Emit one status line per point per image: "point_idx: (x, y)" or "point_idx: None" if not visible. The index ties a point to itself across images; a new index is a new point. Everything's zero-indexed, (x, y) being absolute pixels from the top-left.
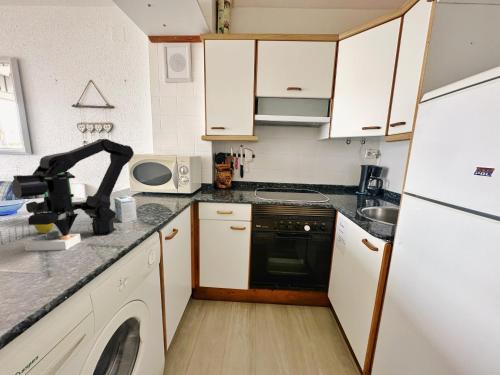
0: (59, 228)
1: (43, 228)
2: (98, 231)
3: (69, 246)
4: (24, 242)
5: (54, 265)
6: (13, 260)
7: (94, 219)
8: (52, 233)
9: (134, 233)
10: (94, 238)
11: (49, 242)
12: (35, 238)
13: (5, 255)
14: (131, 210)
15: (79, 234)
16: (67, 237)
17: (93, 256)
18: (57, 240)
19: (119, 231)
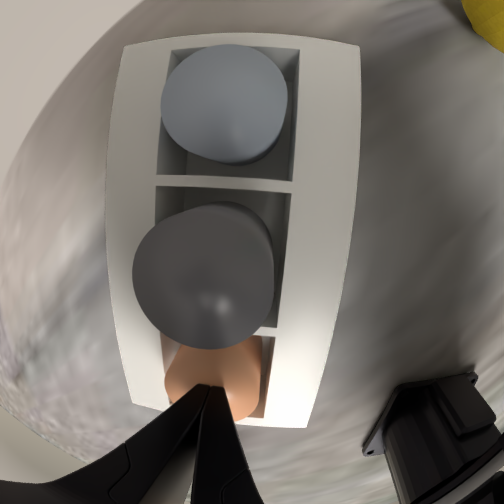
0: (134, 448)
1: (481, 10)
2: (393, 432)
3: None
4: (123, 50)
5: (42, 373)
6: (42, 146)
7: (455, 473)
8: (157, 312)
9: (339, 499)
10: (332, 422)
11: (113, 292)
12: (171, 83)
13: (113, 28)
14: None
15: (299, 423)
16: None
17: None
18: (143, 347)
19: None
